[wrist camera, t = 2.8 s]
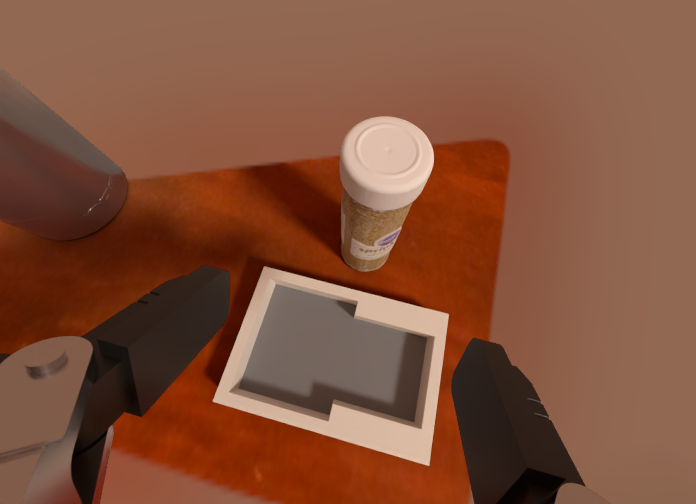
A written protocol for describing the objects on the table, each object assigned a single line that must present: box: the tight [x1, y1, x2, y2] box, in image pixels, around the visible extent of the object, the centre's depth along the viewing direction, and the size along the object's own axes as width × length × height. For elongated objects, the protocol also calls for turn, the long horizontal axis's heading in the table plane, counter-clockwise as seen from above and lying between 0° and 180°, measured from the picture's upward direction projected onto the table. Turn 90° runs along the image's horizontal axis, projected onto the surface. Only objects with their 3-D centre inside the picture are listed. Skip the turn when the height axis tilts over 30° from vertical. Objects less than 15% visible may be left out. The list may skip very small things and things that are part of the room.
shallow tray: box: [213, 266, 449, 466], centre depth 21 cm, size 15×10×2 cm, turn 75°
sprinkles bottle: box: [340, 116, 434, 272], centre depth 19 cm, size 5×5×13 cm
